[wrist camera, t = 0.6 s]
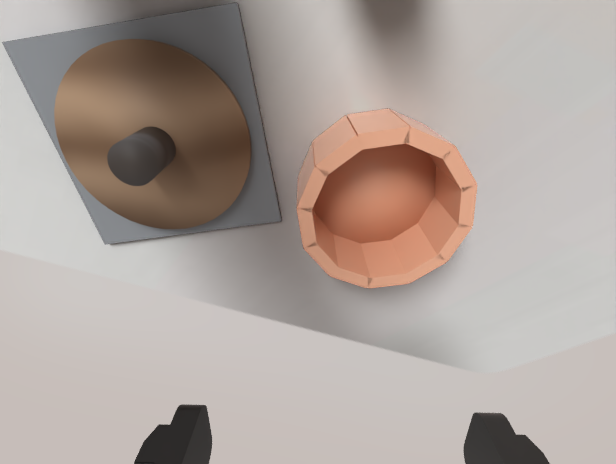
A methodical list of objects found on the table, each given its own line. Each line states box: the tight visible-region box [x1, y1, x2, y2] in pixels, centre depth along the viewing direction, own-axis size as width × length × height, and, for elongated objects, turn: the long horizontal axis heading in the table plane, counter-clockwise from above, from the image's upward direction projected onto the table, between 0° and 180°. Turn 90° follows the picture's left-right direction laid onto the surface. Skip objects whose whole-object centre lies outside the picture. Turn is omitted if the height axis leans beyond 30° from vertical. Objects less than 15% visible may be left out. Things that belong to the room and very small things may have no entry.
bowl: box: [297, 108, 477, 289], centre depth 26 cm, size 12×12×6 cm
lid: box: [54, 39, 251, 229], centre depth 24 cm, size 14×14×5 cm
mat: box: [2, 3, 281, 244], centre depth 27 cm, size 16×16×1 cm
